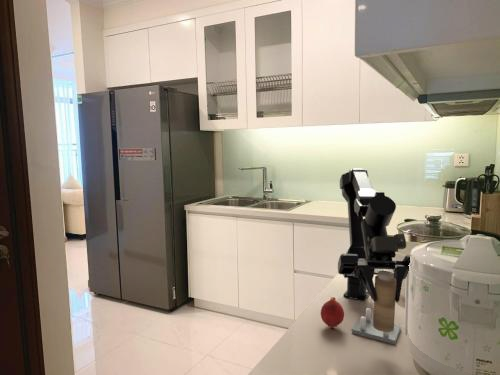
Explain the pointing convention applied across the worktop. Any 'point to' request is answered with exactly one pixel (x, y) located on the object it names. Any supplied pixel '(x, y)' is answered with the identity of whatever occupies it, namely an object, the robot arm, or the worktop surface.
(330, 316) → the pomegranate
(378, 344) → the worktop surface
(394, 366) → the worktop surface
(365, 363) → the worktop surface
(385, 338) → the pin tray
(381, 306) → the pepper mill
